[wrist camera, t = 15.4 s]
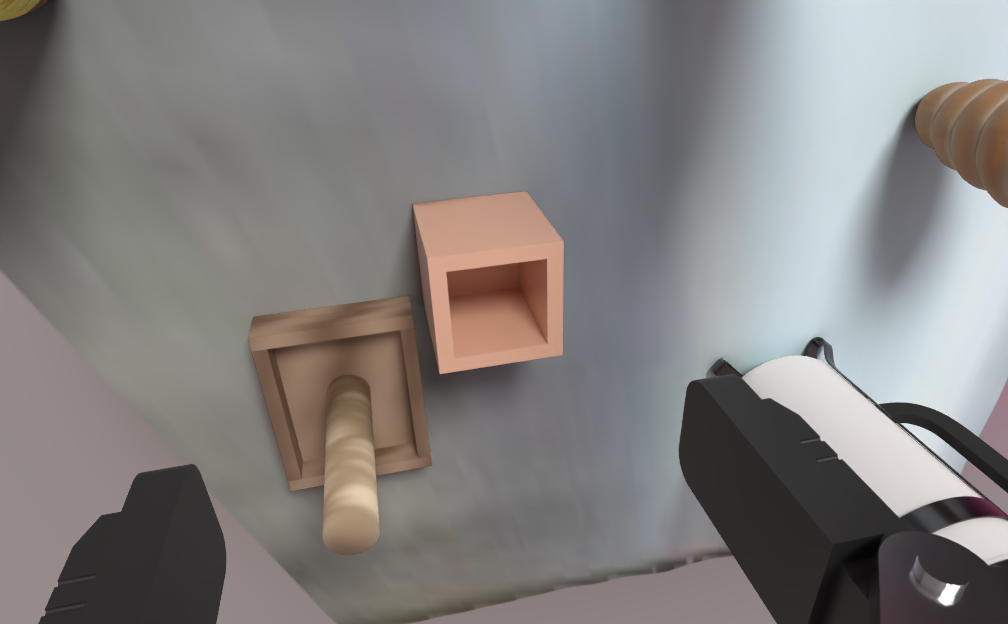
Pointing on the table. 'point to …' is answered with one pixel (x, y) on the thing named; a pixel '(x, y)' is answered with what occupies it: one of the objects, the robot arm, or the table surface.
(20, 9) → the sauce bottle
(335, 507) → the dowel
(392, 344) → the tray
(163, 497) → the robot arm
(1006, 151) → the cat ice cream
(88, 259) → the table surface
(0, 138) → the table surface
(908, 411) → the coffee press
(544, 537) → the table surface
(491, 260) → the pink open box
